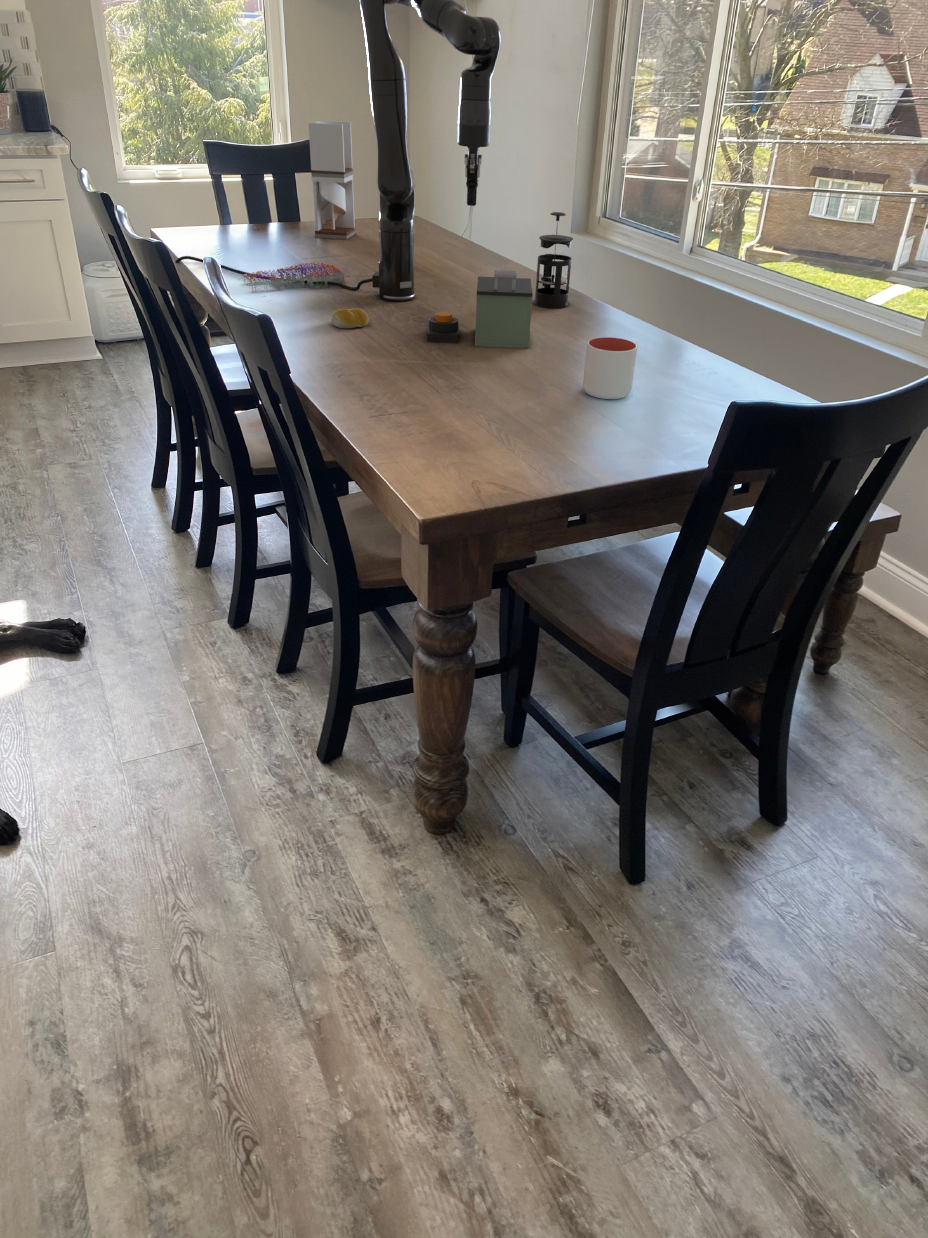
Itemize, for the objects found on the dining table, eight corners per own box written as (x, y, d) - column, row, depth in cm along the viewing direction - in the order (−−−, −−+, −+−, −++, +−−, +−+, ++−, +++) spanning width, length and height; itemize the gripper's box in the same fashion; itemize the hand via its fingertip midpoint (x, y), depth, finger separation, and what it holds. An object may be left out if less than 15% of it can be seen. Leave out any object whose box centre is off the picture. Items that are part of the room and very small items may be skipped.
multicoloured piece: (249, 294, 241) (247, 274, 238) (236, 281, 253) (234, 262, 250) (354, 286, 252) (353, 267, 249) (337, 275, 264) (336, 256, 261)
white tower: (315, 237, 311) (308, 122, 291) (324, 231, 319) (318, 120, 300) (346, 239, 309) (342, 124, 290) (354, 233, 318) (351, 121, 299)
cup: (577, 384, 187) (582, 336, 181) (624, 384, 188) (630, 337, 182) (587, 401, 178) (592, 351, 173) (636, 401, 179) (643, 351, 174)
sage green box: (528, 348, 208) (532, 295, 201) (474, 346, 208) (476, 293, 201) (527, 331, 219) (530, 282, 212) (475, 329, 219) (477, 279, 213)
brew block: (457, 343, 209) (457, 325, 207) (427, 341, 209) (427, 324, 207) (458, 331, 218) (459, 314, 215) (430, 330, 218) (430, 313, 216)
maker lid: (532, 296, 200) (534, 273, 198) (476, 294, 201) (477, 271, 198) (530, 281, 212) (532, 259, 210) (477, 279, 213) (478, 257, 210)
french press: (573, 308, 239) (582, 215, 227) (539, 309, 238) (546, 215, 225) (560, 297, 249) (568, 208, 236) (528, 298, 247) (534, 208, 235)
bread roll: (374, 326, 219) (374, 309, 217) (341, 330, 215) (341, 313, 213) (358, 318, 225) (358, 301, 223) (326, 322, 221) (325, 305, 218)
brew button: (451, 323, 210) (451, 316, 209) (434, 323, 210) (434, 315, 209) (452, 319, 213) (452, 311, 212) (435, 318, 213) (435, 311, 212)
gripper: (490, 125, 197) (486, 210, 206) (491, 120, 208) (487, 201, 217) (456, 123, 197) (454, 208, 206) (459, 118, 208) (457, 199, 218)
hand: (471, 204), depth 212 cm, fingers closed
